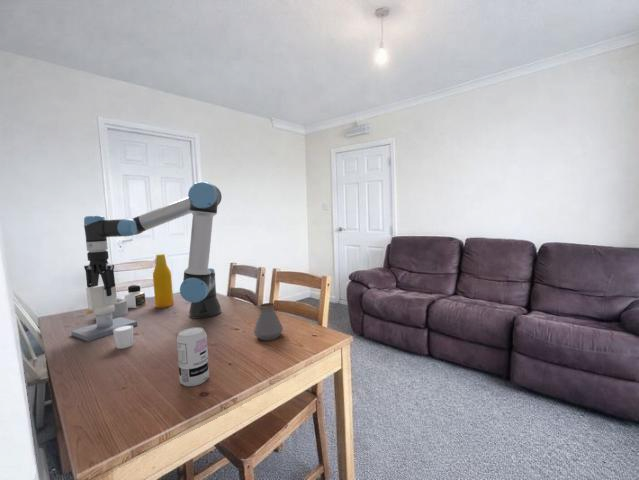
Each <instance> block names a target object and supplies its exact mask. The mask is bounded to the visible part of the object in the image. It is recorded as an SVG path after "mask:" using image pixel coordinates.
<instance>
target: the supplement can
mask: <svg viewBox="0 0 639 480" xmlns="http://www.w3.org/2000/svg"><path fill="white" fill-rule="evenodd" d="M175 341H176V349H177V361H178V364H177V365H178V374H179V382H180V384H181V385H183V386H185V387H195V386H199V385H201V384H204V383H205V382H206V381H207V380H208V379H209V378H210V365H209V351H208V336H207V333H206V331H205V329H204V328H203V327H200V326H195V327H188V328H184V329H182V330H180V331H179V332H178V334H177V338H176V340H175Z"/></svg>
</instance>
